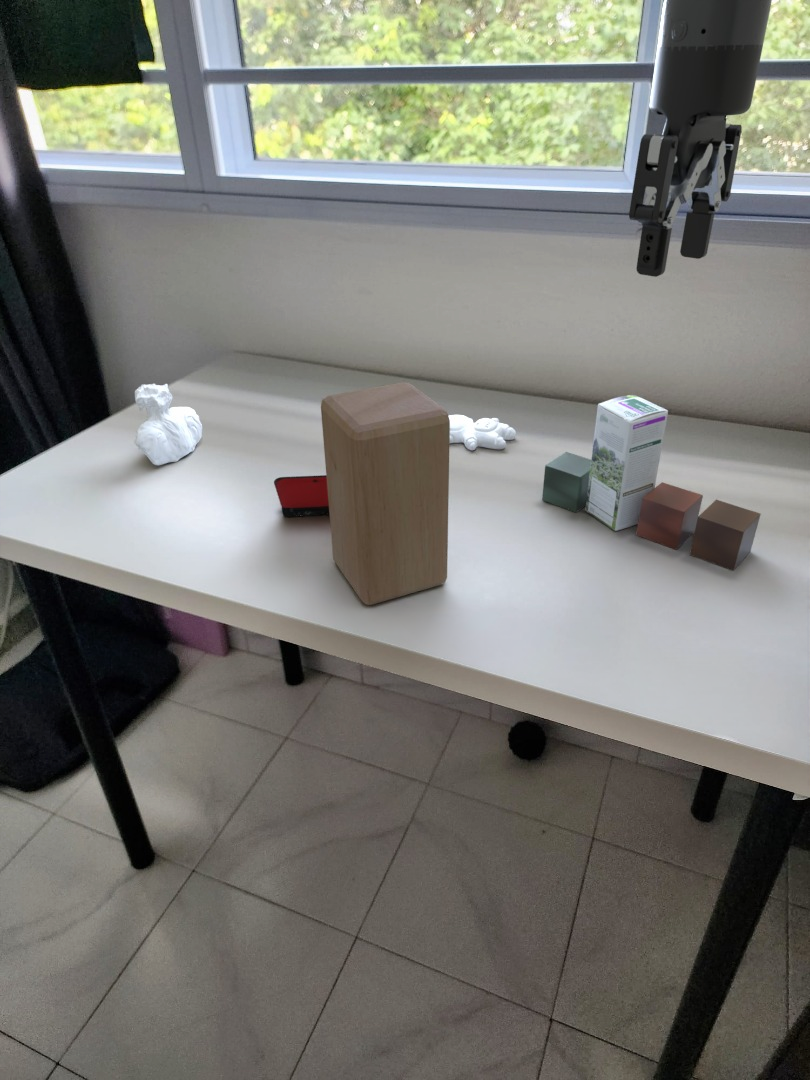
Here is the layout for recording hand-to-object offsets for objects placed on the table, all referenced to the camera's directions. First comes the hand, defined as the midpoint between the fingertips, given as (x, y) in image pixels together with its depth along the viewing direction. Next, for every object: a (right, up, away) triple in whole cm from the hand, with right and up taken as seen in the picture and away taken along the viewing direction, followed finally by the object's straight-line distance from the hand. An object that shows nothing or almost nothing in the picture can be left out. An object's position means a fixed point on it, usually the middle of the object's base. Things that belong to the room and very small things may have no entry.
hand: (672, 265), depth 65 cm
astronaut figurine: (-13, -9, +47) cm, 49 cm away
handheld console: (-32, -20, +30) cm, 48 cm away
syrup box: (+3, -21, +27) cm, 34 cm away
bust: (-57, -11, +44) cm, 73 cm away
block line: (+5, -22, +25) cm, 34 cm away
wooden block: (-25, -28, +17) cm, 41 cm away
